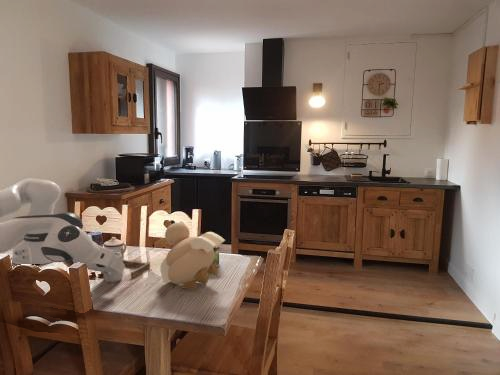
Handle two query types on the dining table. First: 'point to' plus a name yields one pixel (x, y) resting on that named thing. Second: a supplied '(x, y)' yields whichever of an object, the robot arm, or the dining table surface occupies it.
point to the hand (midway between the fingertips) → (108, 272)
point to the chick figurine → (189, 256)
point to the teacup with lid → (116, 245)
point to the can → (114, 276)
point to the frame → (140, 265)
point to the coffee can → (216, 251)
